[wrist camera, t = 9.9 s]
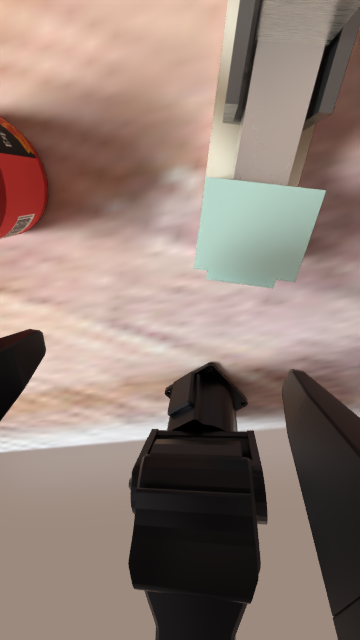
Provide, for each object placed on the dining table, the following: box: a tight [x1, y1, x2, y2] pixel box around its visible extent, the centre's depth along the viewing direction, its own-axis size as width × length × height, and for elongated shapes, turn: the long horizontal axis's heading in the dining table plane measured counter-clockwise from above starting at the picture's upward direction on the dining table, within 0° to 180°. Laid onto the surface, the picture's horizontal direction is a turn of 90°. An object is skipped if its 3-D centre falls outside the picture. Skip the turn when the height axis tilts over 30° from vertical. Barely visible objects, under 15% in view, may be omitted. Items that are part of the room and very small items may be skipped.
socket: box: [194, 177, 326, 288], centre depth 15 cm, size 5×6×5 cm
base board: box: [195, 0, 316, 256], centre depth 15 cm, size 19×6×1 cm, turn 174°
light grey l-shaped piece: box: [231, 0, 360, 186], centre depth 10 cm, size 12×3×11 cm, turn 174°
